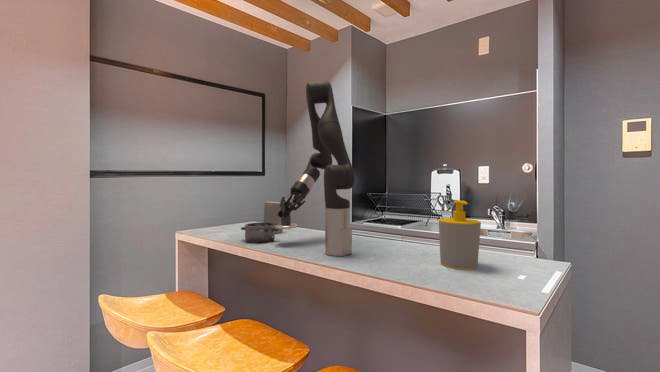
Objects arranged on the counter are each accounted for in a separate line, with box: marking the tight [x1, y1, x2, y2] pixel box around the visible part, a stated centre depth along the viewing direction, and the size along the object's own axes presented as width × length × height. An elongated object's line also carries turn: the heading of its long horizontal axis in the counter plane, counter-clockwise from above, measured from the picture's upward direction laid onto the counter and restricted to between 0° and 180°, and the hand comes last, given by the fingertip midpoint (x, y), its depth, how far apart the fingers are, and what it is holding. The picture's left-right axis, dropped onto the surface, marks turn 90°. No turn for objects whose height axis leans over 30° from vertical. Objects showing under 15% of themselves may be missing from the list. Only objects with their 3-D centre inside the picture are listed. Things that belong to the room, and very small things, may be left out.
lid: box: [275, 200, 298, 230], centre depth 145 cm, size 9×9×11 cm
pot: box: [240, 222, 279, 244], centre depth 154 cm, size 17×13×7 cm
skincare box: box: [262, 201, 284, 235], centre depth 174 cm, size 8×7×16 cm
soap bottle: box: [438, 199, 482, 271], centre depth 113 cm, size 13×13×21 cm
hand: (281, 216), depth 143 cm, fingers closed on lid, 2 cm apart
